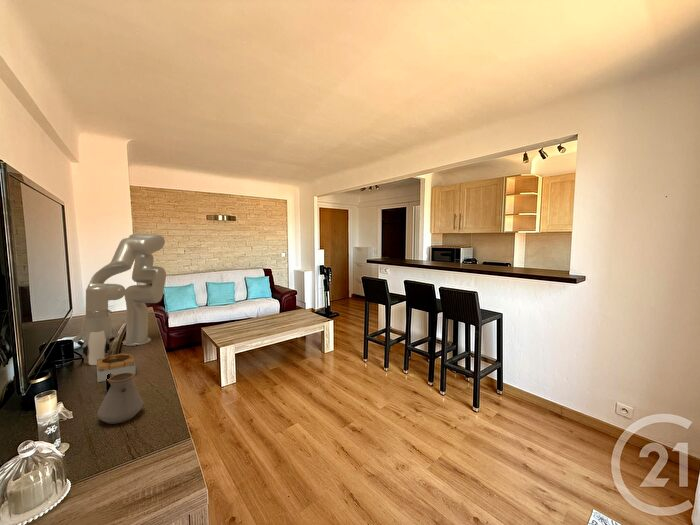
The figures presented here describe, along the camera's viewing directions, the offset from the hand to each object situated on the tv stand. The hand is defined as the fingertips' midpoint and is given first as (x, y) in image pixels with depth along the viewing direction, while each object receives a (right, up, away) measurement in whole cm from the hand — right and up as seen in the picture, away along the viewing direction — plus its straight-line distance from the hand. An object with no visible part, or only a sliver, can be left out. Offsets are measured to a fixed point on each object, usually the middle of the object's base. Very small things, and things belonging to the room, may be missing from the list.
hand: (96, 353), depth 130 cm
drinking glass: (0, -5, 0) cm, 5 cm away
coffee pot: (+44, -9, -42) cm, 61 cm away
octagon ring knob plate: (+14, -6, -7) cm, 17 cm away
